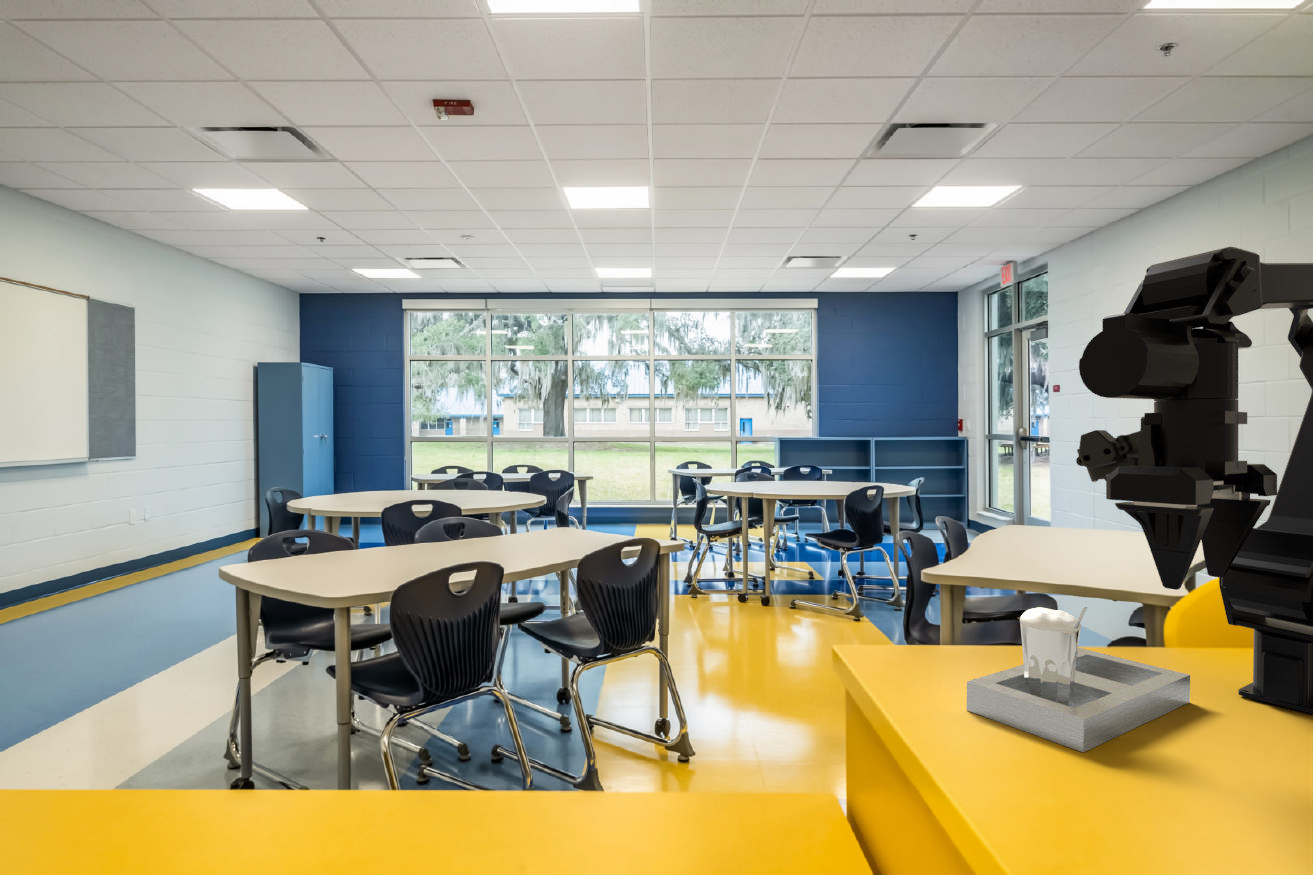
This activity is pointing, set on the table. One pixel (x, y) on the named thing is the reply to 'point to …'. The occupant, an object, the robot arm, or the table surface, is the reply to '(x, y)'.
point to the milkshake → (1050, 653)
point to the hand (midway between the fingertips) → (1194, 582)
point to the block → (1083, 700)
